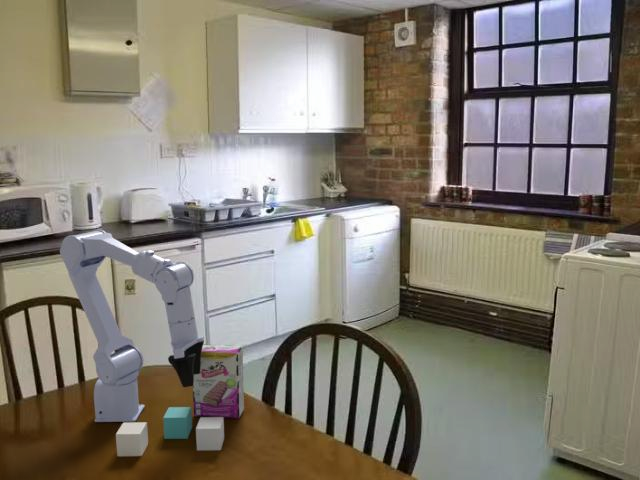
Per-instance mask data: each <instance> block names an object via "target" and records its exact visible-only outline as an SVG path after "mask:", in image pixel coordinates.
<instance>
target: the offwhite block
mask: <svg viewBox="0 0 640 480" xmlns="http://www.w3.org/2000/svg"><path fill="white" fill-rule="evenodd" d="M115 442H116V456H117V457H142V456H143V454H144V452H145V451H146V449H147V447H148V444H149V435H148V422H144V421H143V422H142V421H141V422H140V421H139V422H136V421H134V422H123V423H122V424H121V425H120V427H119V428H118V430H117V432H116V434H115Z"/></svg>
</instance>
